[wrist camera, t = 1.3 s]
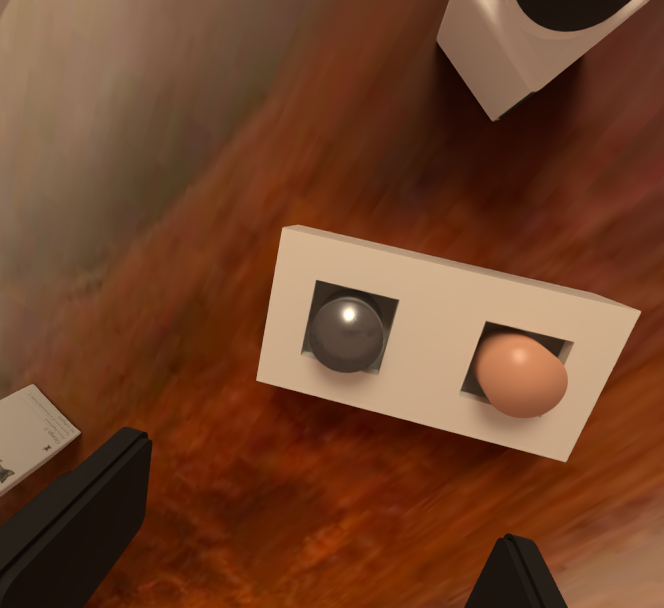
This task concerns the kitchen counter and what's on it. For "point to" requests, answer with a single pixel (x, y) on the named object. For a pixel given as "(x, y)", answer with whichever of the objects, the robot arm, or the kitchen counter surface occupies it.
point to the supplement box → (29, 435)
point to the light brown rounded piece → (518, 373)
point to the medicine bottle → (522, 43)
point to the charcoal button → (347, 331)
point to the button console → (438, 337)
